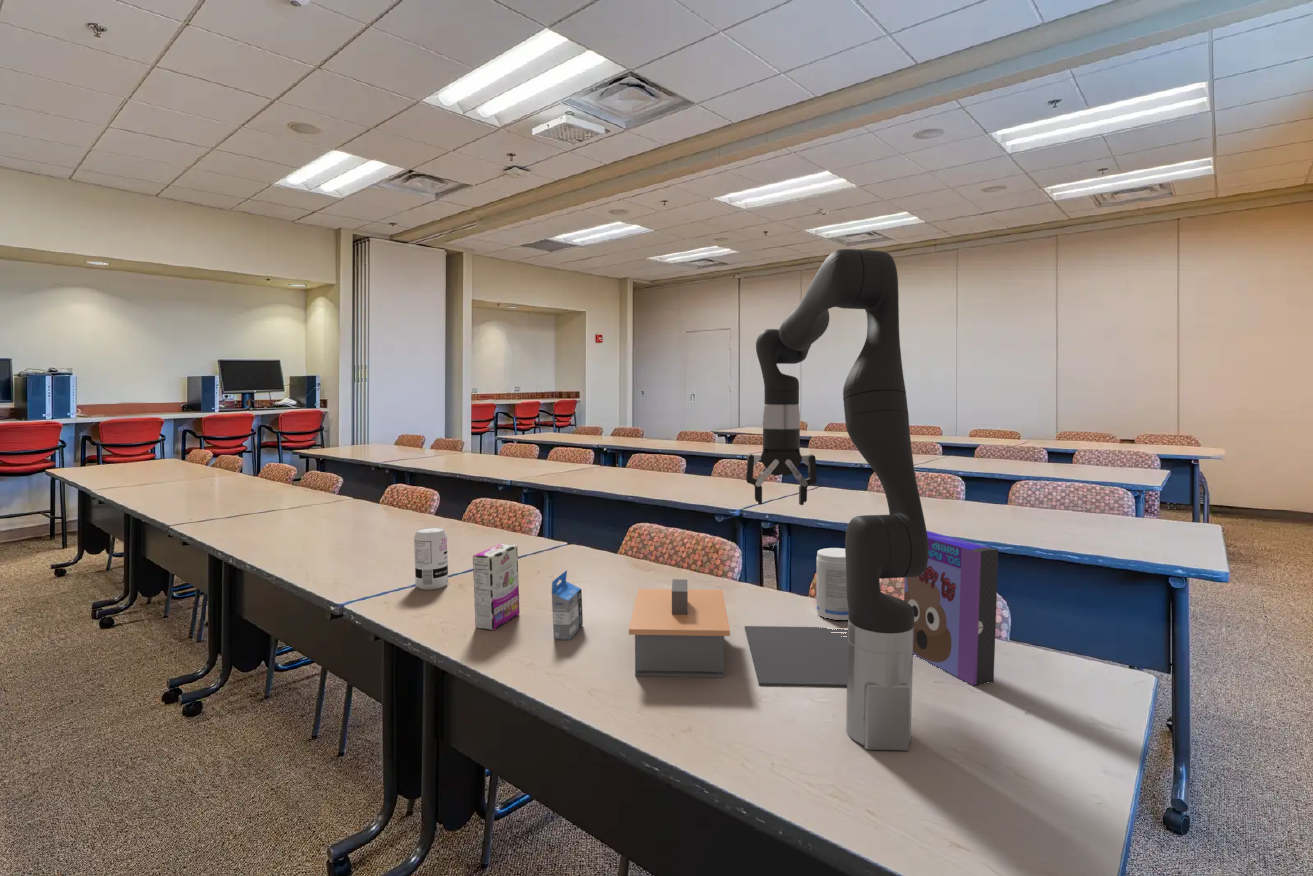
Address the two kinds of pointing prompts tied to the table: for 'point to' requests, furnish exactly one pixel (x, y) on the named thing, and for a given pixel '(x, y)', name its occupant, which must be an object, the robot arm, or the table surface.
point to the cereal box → (956, 608)
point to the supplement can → (431, 558)
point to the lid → (679, 612)
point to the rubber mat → (799, 655)
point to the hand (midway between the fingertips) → (780, 504)
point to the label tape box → (566, 608)
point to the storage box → (679, 655)
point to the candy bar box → (496, 586)
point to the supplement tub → (832, 584)
